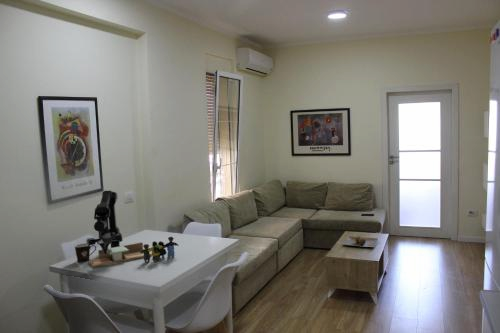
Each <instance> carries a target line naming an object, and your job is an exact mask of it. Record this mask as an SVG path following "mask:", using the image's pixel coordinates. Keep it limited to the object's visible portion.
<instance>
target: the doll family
mask: <svg viewBox="0 0 500 333" xmlns="http://www.w3.org/2000/svg"><path fill="white" fill-rule="evenodd" d="M174 239H175V238H174V237H173V236H169V237H168V239H167V240H168V241H169V242H167V243H164V242H163V241H162V240H160V241H159V242H157V241H152V244H151V247H150V245H149V244H147V243H145V244H143V250H142V251H140V253H144V258H143V262H144V263H147V262H150V261H152V262H153V263H155V264H157V262H160V260H161V259H162V260H165V255H167V257H166V259H167V260H168V259H169V260H171V259H175V253H176V252H175V247H176V246H177V247H178V246H179V244H178V243H177V242H174ZM166 248H167V250H166ZM149 253H150V254H151V256H152V257H150V254H149ZM151 258H152V259H151Z"/></svg>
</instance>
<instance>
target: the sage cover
mask: <svg viewBox="0 0 500 333" xmlns="http://www.w3.org/2000/svg"><path fill="white" fill-rule="evenodd" d="M125 251H129V249H127V248H125V247H124V245H120V247H115V248H111V247H108V249H107V253H109V254H115V253H120V252H125Z"/></svg>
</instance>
